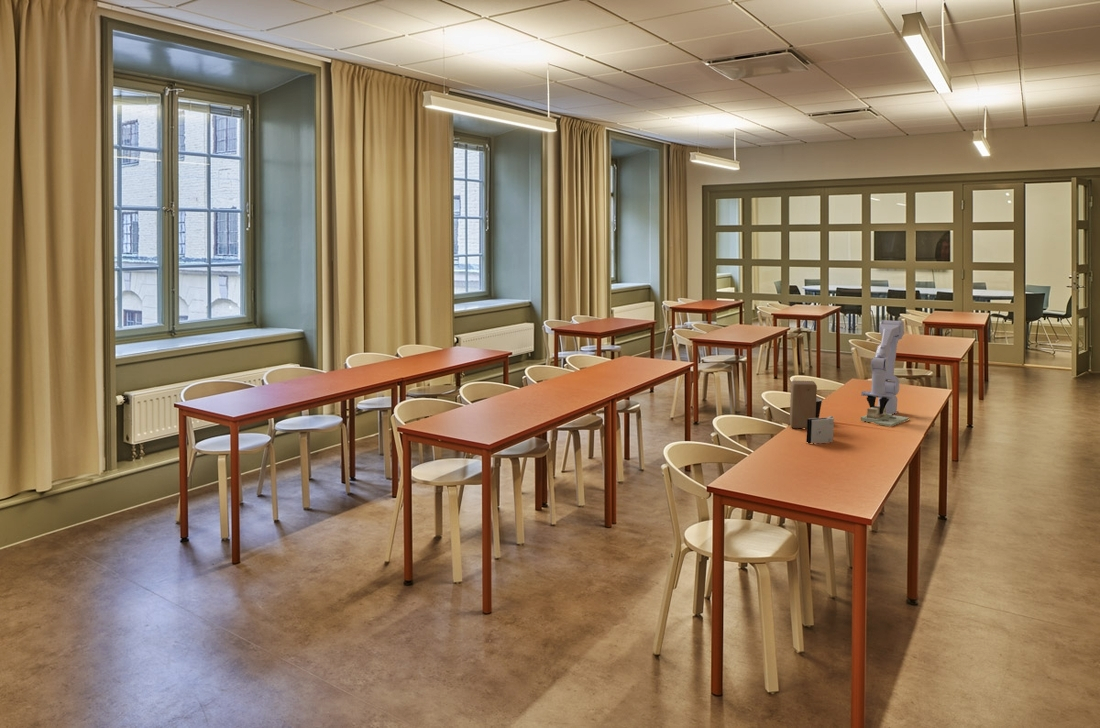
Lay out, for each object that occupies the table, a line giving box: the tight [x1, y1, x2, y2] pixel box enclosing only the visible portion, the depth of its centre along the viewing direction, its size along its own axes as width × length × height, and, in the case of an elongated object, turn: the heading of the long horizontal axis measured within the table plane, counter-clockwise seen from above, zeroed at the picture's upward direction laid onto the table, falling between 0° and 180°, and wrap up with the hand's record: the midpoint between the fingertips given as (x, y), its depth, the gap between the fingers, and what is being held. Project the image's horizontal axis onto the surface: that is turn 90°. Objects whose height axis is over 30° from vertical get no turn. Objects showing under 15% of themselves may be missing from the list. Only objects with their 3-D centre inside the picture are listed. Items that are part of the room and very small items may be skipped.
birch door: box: [866, 404, 886, 419], centre depth 373 cm, size 12×4×6 cm, turn 135°
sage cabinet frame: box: [860, 413, 910, 427], centre depth 371 cm, size 20×14×2 cm
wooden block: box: [789, 380, 818, 430], centre depth 359 cm, size 10×10×20 cm
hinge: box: [805, 415, 835, 444], centre depth 331 cm, size 14×5×10 cm, turn 116°
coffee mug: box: [815, 397, 823, 418], centre depth 373 cm, size 12×9×10 cm
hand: (876, 413), depth 373 cm, fingers closed on birch door, 3 cm apart
